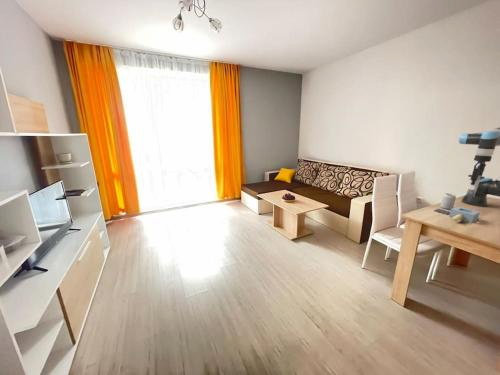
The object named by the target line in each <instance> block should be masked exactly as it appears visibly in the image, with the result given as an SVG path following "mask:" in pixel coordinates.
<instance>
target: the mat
mask: <svg viewBox="0 0 500 375" xmlns="http://www.w3.org/2000/svg"><path fill="white" fill-rule="evenodd" d="M433 212H436V213H439V214H442V215H446V216H447V215H448V216H449V214H450V211H449V210H446V209H443V208H441V209H440V208H436V209H434V210H433Z"/></svg>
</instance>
